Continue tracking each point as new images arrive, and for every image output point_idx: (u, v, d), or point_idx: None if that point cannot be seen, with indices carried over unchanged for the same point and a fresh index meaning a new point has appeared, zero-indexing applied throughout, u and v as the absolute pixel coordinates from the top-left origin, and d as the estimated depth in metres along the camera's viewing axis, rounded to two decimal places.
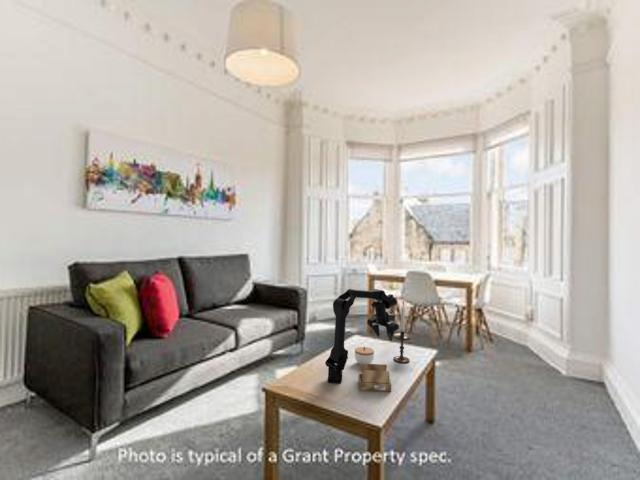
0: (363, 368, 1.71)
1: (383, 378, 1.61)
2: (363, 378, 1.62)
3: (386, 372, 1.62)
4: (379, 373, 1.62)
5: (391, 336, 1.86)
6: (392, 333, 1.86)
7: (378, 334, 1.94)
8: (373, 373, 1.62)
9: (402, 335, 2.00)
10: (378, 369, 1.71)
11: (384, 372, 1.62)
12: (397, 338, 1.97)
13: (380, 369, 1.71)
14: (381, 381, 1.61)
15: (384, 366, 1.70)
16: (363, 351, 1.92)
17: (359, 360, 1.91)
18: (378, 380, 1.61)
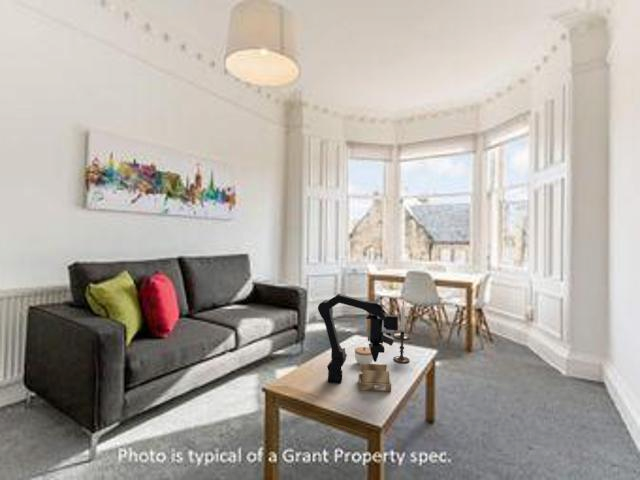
0: (363, 368, 1.71)
1: (383, 378, 1.61)
2: (363, 378, 1.62)
3: (386, 372, 1.62)
4: (379, 373, 1.62)
5: (375, 356, 1.65)
6: (377, 353, 1.64)
7: None
8: (373, 373, 1.62)
9: (402, 335, 2.00)
10: (378, 369, 1.71)
11: (384, 372, 1.62)
12: (397, 338, 1.97)
13: (380, 369, 1.71)
14: (381, 381, 1.61)
15: (384, 366, 1.70)
16: (363, 351, 1.92)
17: (359, 360, 1.91)
18: (378, 380, 1.61)
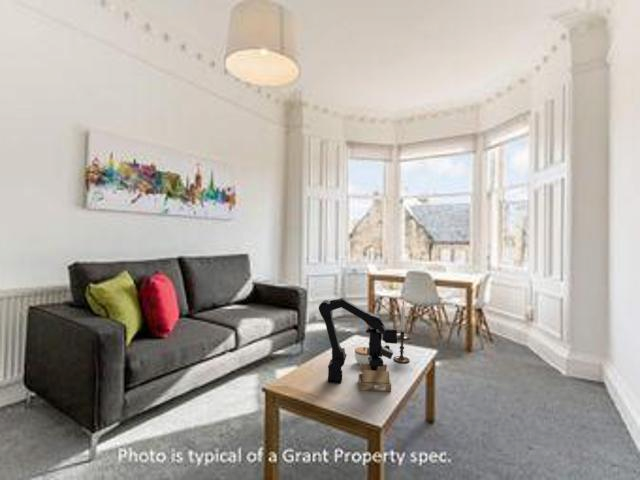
0: (363, 368, 1.71)
1: (383, 378, 1.61)
2: (363, 378, 1.62)
3: (386, 372, 1.62)
4: (379, 373, 1.62)
5: (374, 368, 1.67)
6: (376, 366, 1.67)
7: None
8: (373, 373, 1.62)
9: (402, 335, 2.00)
10: (378, 369, 1.71)
11: (384, 372, 1.62)
12: (397, 338, 1.97)
13: (380, 369, 1.71)
14: (381, 381, 1.61)
15: (384, 366, 1.70)
16: (363, 351, 1.92)
17: (359, 360, 1.91)
18: (378, 380, 1.61)
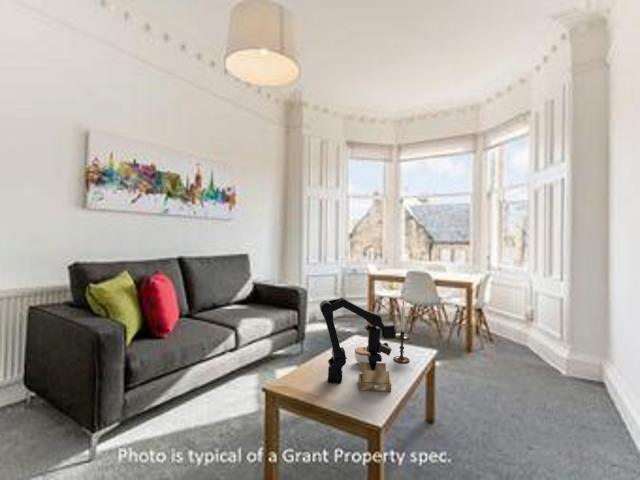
0: (363, 367, 1.74)
1: (383, 378, 1.61)
2: (363, 378, 1.62)
3: (386, 372, 1.62)
4: (379, 373, 1.62)
5: (373, 365, 1.72)
6: (375, 362, 1.72)
7: (373, 368, 1.73)
8: (373, 373, 1.62)
9: (402, 335, 2.00)
10: (377, 368, 1.73)
11: (384, 372, 1.62)
12: (397, 338, 1.97)
13: (379, 368, 1.73)
14: (381, 381, 1.61)
15: (383, 364, 1.75)
16: (363, 351, 1.92)
17: (359, 360, 1.91)
18: (378, 380, 1.61)
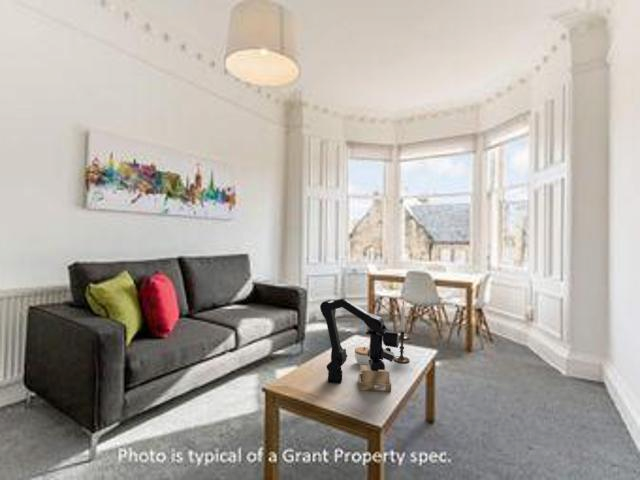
0: (362, 368, 1.75)
1: (383, 379, 1.61)
2: (363, 378, 1.61)
3: (386, 372, 1.61)
4: (379, 373, 1.61)
5: None
6: None
7: None
8: (373, 373, 1.61)
9: (402, 335, 2.00)
10: None
11: (384, 372, 1.61)
12: None
13: None
14: (381, 381, 1.61)
15: None
16: (363, 351, 1.92)
17: (359, 360, 1.91)
18: (378, 380, 1.61)
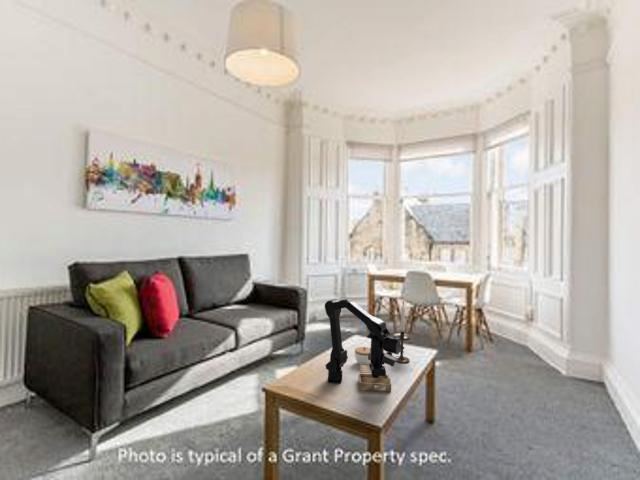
0: (362, 368, 1.75)
1: (384, 382, 1.59)
2: (363, 381, 1.60)
3: (387, 379, 1.57)
4: (380, 379, 1.58)
5: (375, 376, 1.59)
6: None
7: None
8: (374, 379, 1.58)
9: (402, 335, 2.00)
10: None
11: (385, 379, 1.57)
12: None
13: None
14: (381, 383, 1.60)
15: None
16: (363, 351, 1.92)
17: (359, 360, 1.91)
18: (378, 382, 1.60)
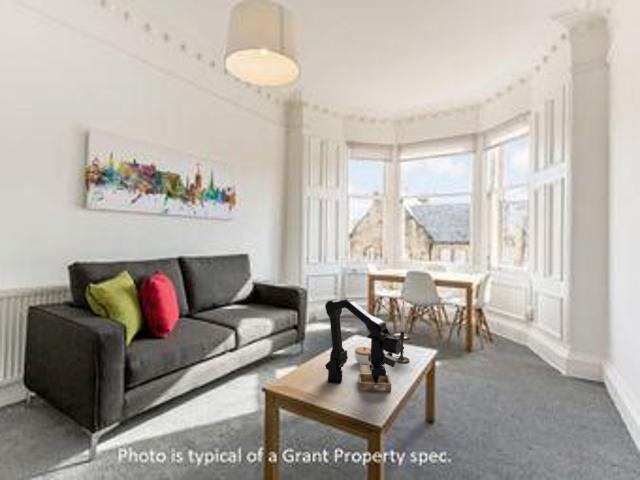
0: (362, 368, 1.75)
1: None
2: None
3: (387, 384, 1.56)
4: None
5: (376, 377, 1.57)
6: None
7: None
8: (374, 383, 1.57)
9: (402, 335, 2.00)
10: None
11: None
12: None
13: None
14: None
15: None
16: (363, 351, 1.92)
17: (359, 360, 1.91)
18: None
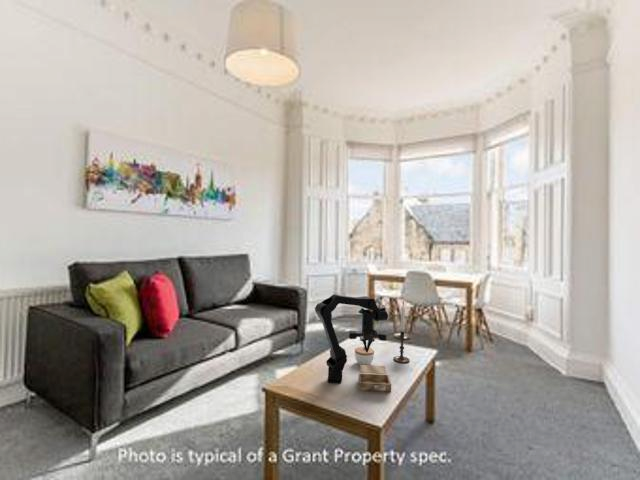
0: (362, 368, 1.75)
1: None
2: None
3: (387, 384, 1.56)
4: None
5: (364, 346, 1.79)
6: (364, 343, 1.78)
7: None
8: (374, 383, 1.57)
9: (402, 335, 2.00)
10: (377, 369, 1.74)
11: None
12: (397, 338, 1.97)
13: (379, 369, 1.74)
14: None
15: (382, 367, 1.76)
16: (363, 351, 1.92)
17: (359, 360, 1.91)
18: None
